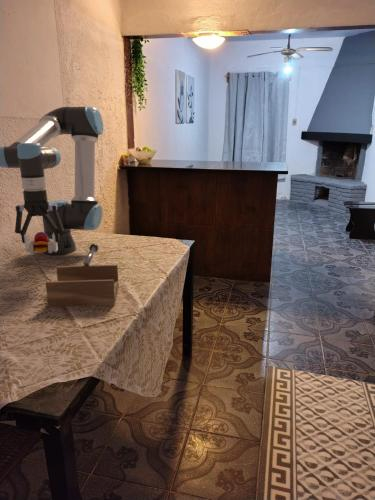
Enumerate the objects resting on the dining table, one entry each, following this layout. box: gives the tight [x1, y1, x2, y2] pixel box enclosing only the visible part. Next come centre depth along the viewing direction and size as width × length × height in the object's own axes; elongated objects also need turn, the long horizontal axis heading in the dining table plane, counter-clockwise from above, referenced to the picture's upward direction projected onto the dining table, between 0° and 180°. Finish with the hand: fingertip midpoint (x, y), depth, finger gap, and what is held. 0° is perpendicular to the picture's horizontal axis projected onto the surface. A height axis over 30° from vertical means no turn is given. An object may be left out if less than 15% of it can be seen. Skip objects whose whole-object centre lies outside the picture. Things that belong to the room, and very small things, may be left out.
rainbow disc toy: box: [28, 231, 54, 255], centre depth 137 cm, size 8×10×7 cm
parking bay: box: [45, 264, 120, 308], centre depth 128 cm, size 15×21×8 cm
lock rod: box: [82, 243, 99, 266], centre depth 141 cm, size 19×3×3 cm, turn 5°
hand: (42, 251), depth 138 cm, fingers closed on rainbow disc toy, 9 cm apart
